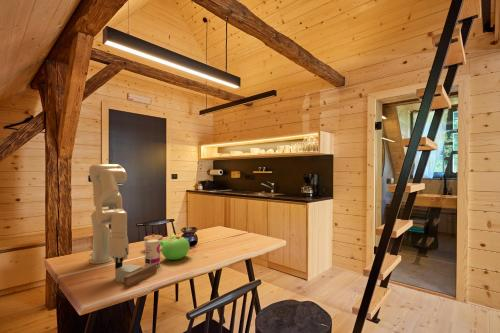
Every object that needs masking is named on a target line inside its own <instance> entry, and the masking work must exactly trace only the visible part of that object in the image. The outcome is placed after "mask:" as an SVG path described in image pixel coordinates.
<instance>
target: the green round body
mask: <svg viewBox="0 0 500 333" xmlns="http://www.w3.org/2000/svg"><path fill="white" fill-rule="evenodd" d="M160 245H161V254H162V256H163V257H164V258H166V259H167V260H171V261H174V260H175V261H176V260H180V259H182V258H184V257H185V256H186V255H187V254H188V253H189V250H190V247H191V245H190V242H189V241H188V239H187V238H186V237H184V236H180V235H179V236H178V235H177V236H176V234H175V233H172V234H171V236H170V238H168V239H166V240H162V241H160Z"/></svg>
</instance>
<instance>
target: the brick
mask: <svg viewBox="0 0 500 333" xmlns="http://www.w3.org/2000/svg"><path fill="white" fill-rule="evenodd" d="M141 268H143V266H141V265H136V264H130V263H129V264H128V263H126V264H124V265H122V267H119V268H117V269H115V268H114V269H115V270H114V272H115V274H114V276H115V280H116V281H115V280H114V281H115V282H120V281H121V282H122V283H124V276H126V275H129V274H131V273H133V272H135V271H137V270H139V269H141Z"/></svg>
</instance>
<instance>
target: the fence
mask: <svg viewBox="0 0 500 333" xmlns="http://www.w3.org/2000/svg"><path fill="white" fill-rule="evenodd" d="M156 273H157V267H156V263H152V264H150V265H147V266H145V265H144V266H142V268H141V269H139V270H137V271H135V272H133V273H131V274H129V275H126V276H124V282H123V287H124V288H127V289H128V288H130V287H132V286H134V285H136V284H138V283H139V282H142V281H143V280H145V279H147V278H149V277H151V276H153V275H155V274H156Z"/></svg>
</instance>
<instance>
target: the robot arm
mask: <svg viewBox="0 0 500 333" xmlns="http://www.w3.org/2000/svg"><path fill="white" fill-rule="evenodd" d="M88 175H89V178H90V181H91V183H92V190H93V191H92V192H93V194H92V195H93V196H92V197H93V205H94V207H95V210H94V211H93V212H92V213H91V215H90V216H91V217H90V218H91V226H92V252H91V253H89V257H91V258H90V259H89V263H90V264H93V265H95V264H96V265H98V264H105V263H109V262H111V261H113V262H114V265H115V266H114V269H117V268H119V267H122V266H123V261H124V260H127V259H128V256H129V254H130V250H129V238H128V212H127V211H126V210H124V208H123V196H122V194H121V192H120V189H119V185H118V183H119V184H120V183H125V182H126V181H127V178H128V175H127V172H126V169H125V168H124V167H123V166H122V165H120V164H118V163H115V164H114V163H94V164H92V165H90V166H89V169H88ZM109 207H111V208H109ZM112 207H113V208H112ZM104 208H105V209H104ZM107 225H110V226H111V227H110V228H111V229H110V228H109V227H108V226H107Z"/></svg>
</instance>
